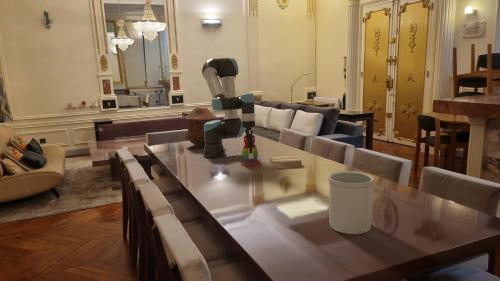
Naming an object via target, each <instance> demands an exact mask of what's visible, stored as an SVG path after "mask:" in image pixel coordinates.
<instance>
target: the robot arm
mask: <svg viewBox="0 0 500 281" xmlns="http://www.w3.org/2000/svg"><path fill="white" fill-rule="evenodd" d="M201 75H202V78H203V79H204V80H205V81H206V84H207V86H208V89H209V91H210V94H211V96H212V99H211V109H212V110H213V111H214V112H216V111H217V112H221V111H224V118H223V119H222V120H221V119H215V120H214V121H210V122H207V123H205V124H204V137H205V147H203V152H202V155H203V156H202V157H203V158H206V159H207V158H208V159H216V158H222V157H224V156H226V152H227V151H226V150H225V147H224V144H223V140H229V139H231V140H232V139H237V138H238V139H239V138H242V136H244V132H245V135H246V136H247V138H248V146H247V148H248V154H249V159H254V158H253V138H252V137H253V133H254V130H253V129H252V128H255V127H256V120H255V119H256V118H255V117H256V115H257V114H256V113H255V110H256V109H255V96H254V93H250V92H249V93H241V94H240V95H239V96H236V86H235V85H236V84H235V80H236V78H237V76H238V75H239V65H238V61H237V60H236V59H235V58H234V57H220V58H210V59H208V60H207V61H206V62H205V63H204V64H203V66H202V68H201ZM220 81H221V82H220ZM238 110H241V117H240V116H239V114H238Z"/></svg>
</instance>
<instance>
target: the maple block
mask: <svg viewBox="0 0 500 281" xmlns="http://www.w3.org/2000/svg"><path fill="white" fill-rule="evenodd" d="M269 163H270V165H271V167H272V169H273V168H274V169H286V168H302V160H301V159H300V157H298V156H297V154H284V155H282V154H281V155H269Z"/></svg>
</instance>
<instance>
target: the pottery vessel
mask: <svg viewBox="0 0 500 281" xmlns="http://www.w3.org/2000/svg"><path fill="white" fill-rule="evenodd" d="M216 119H217V115H216V114H214V113H213V112H212V111H211V110H210V109H208V107H206V106H199V107H198V106H197V107H194V108H193V109H192V110H191V111H190V113H189V114H187V115H186V116H185V120H187V130H186V132H185V134H184V138H186V140H188V141H189V142H190V143H191V144H193V145H194V146H195V148H204V147H205V137H204V124H205V123H207V122H210V121H214V120H216Z"/></svg>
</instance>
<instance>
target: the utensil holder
mask: <svg viewBox="0 0 500 281" xmlns="http://www.w3.org/2000/svg"><path fill="white" fill-rule="evenodd" d="M327 179H328V182H329V183H328V200H329V201H328V215H329V217H328V218H329V220H328V221H329V226H330V228H331V229H332V230H334V231H336V232H339V233H342V234H347V235H361V234H364V233H367V232H369V231H370V230H371V228H372V218H373V217H372V216H373V201H374V200H373V196H374V184H375V177H374V176H373V175H371V174H368V173H366V172H361V171H353V170H352V171H351V170H349V171H348V170H343V171H334V172H332V173H329V175H328V178H327Z"/></svg>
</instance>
